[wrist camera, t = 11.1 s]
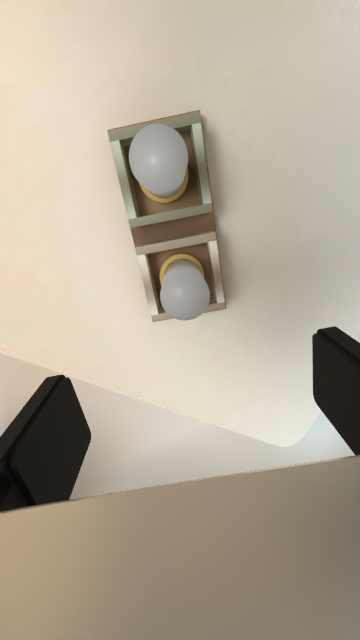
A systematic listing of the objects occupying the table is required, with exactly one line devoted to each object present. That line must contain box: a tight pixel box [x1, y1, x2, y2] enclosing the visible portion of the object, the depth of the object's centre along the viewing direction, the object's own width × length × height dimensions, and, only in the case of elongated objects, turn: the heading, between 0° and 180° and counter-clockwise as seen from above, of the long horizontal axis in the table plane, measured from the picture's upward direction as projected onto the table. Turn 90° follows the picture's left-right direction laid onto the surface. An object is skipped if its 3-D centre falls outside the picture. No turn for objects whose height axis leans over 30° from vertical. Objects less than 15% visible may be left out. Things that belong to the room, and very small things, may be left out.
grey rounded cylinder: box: [160, 252, 210, 320], centre depth 27 cm, size 5×5×10 cm
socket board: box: [107, 110, 226, 322], centre depth 29 cm, size 20×9×4 cm, turn 11°
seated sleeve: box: [129, 124, 188, 203], centre depth 23 cm, size 5×5×10 cm
